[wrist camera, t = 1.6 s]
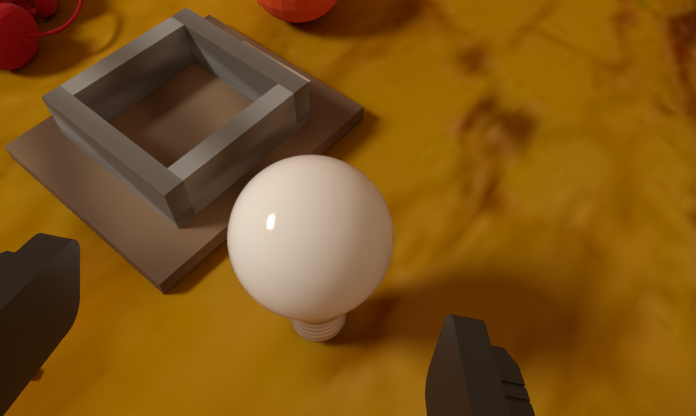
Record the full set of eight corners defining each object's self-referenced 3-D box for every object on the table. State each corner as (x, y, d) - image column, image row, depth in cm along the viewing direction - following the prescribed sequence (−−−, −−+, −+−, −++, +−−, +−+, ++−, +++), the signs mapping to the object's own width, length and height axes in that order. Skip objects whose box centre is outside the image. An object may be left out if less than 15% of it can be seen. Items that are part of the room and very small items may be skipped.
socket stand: (211, 26, 42) (200, -24, 39) (362, 118, 37) (364, 70, 33) (11, 157, 35) (-23, 109, 32) (163, 294, 30) (141, 254, 26)
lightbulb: (408, 313, 29) (436, 178, 20) (324, 413, 26) (314, 308, 17) (313, 243, 31) (300, 94, 22) (227, 328, 29) (173, 197, 20)
